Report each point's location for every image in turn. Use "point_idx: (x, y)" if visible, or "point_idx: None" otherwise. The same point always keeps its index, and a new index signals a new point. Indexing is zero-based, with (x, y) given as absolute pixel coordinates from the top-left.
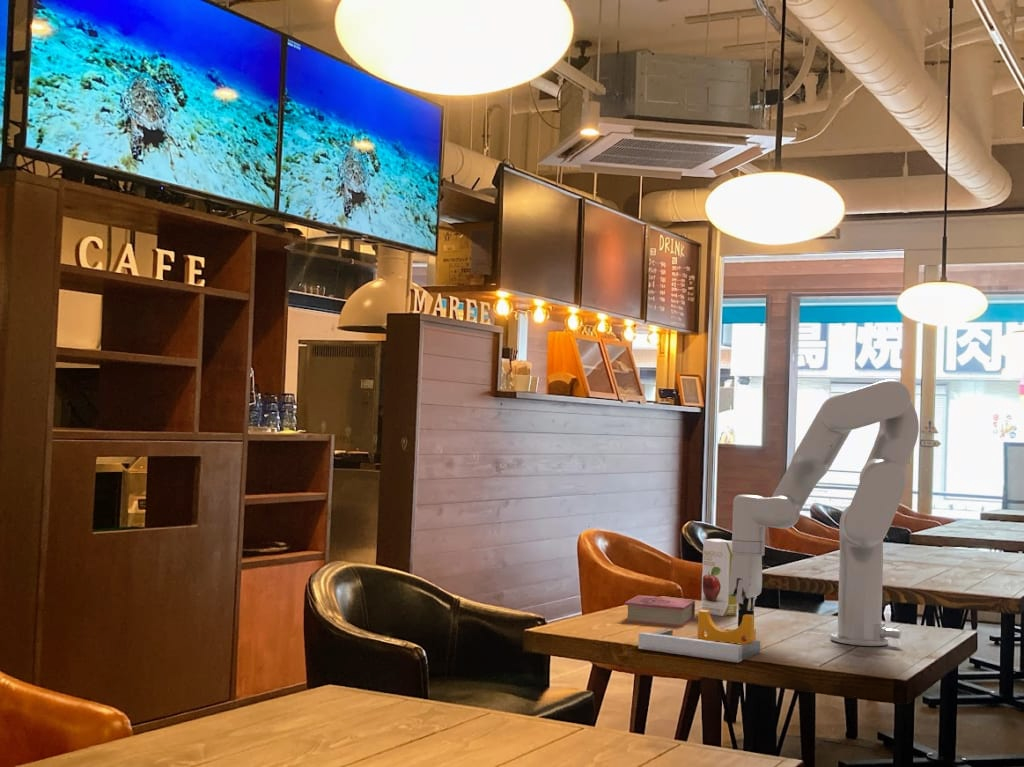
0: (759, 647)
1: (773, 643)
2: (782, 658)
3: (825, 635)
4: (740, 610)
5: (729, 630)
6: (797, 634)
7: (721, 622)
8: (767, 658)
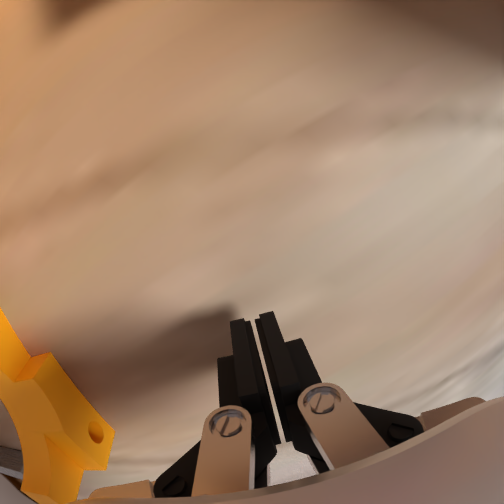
0: None
1: (163, 460)
2: None
3: None
4: (243, 403)
5: (28, 394)
6: (400, 405)
7: (448, 62)
8: None
